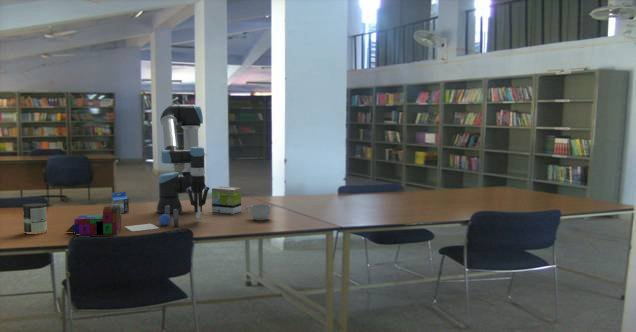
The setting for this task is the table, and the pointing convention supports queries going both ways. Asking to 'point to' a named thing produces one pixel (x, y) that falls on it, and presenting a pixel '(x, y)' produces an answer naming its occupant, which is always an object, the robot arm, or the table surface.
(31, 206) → the coffee can
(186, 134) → the robot arm
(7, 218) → the table surface
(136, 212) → the table surface
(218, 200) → the tea box
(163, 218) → the ball
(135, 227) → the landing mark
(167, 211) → the gate posts
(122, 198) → the label tape box
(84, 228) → the block puzzle
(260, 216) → the teacup
